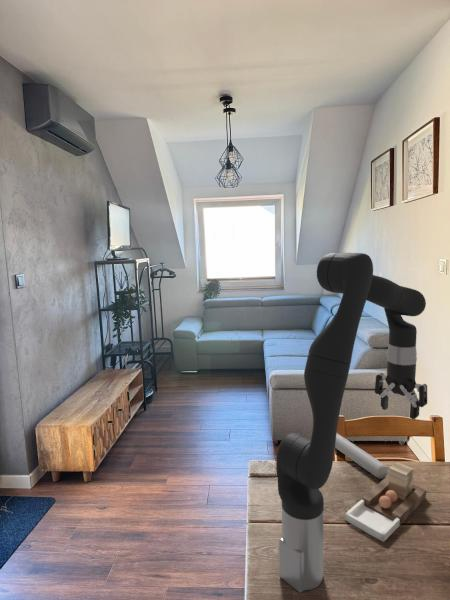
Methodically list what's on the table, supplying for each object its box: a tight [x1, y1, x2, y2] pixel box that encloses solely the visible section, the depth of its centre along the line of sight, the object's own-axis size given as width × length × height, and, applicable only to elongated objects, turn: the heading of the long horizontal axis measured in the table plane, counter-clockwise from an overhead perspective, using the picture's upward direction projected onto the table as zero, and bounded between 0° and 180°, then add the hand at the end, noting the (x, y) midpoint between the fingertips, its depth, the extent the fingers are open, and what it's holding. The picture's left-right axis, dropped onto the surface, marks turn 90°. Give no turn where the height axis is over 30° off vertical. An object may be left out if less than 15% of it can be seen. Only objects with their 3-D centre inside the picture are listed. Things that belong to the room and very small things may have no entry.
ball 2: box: [386, 490, 398, 503], centre depth 114 cm, size 3×3×3 cm
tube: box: [335, 432, 389, 480], centre depth 136 cm, size 5×5×25 cm
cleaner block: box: [388, 461, 414, 500], centre depth 117 cm, size 4×5×8 cm
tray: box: [344, 499, 401, 543], centre depth 107 cm, size 8×11×2 cm
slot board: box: [361, 474, 427, 526], centre depth 115 cm, size 16×11×2 cm
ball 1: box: [379, 496, 391, 509], centre depth 112 cm, size 3×3×3 cm
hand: (399, 413), depth 116 cm, fingers open, 8 cm apart
